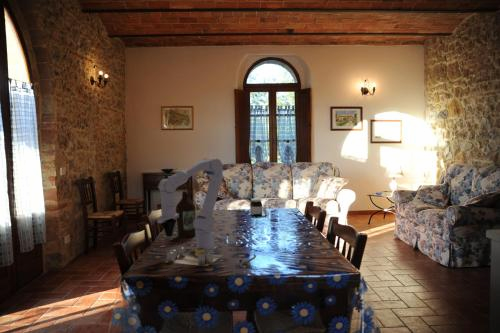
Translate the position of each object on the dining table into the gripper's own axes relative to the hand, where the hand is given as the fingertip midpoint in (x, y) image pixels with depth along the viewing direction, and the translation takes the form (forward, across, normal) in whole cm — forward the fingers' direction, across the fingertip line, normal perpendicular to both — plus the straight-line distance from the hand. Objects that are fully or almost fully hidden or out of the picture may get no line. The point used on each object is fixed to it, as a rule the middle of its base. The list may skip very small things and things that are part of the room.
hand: (169, 236), depth 181 cm
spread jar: (+10, -111, +3) cm, 112 cm away
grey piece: (+9, +4, +13) cm, 16 cm away
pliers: (+10, -6, +35) cm, 37 cm away
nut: (+9, -4, +13) cm, 16 cm away
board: (+10, +1, +13) cm, 16 cm away
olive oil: (+10, -41, -15) cm, 45 cm away
